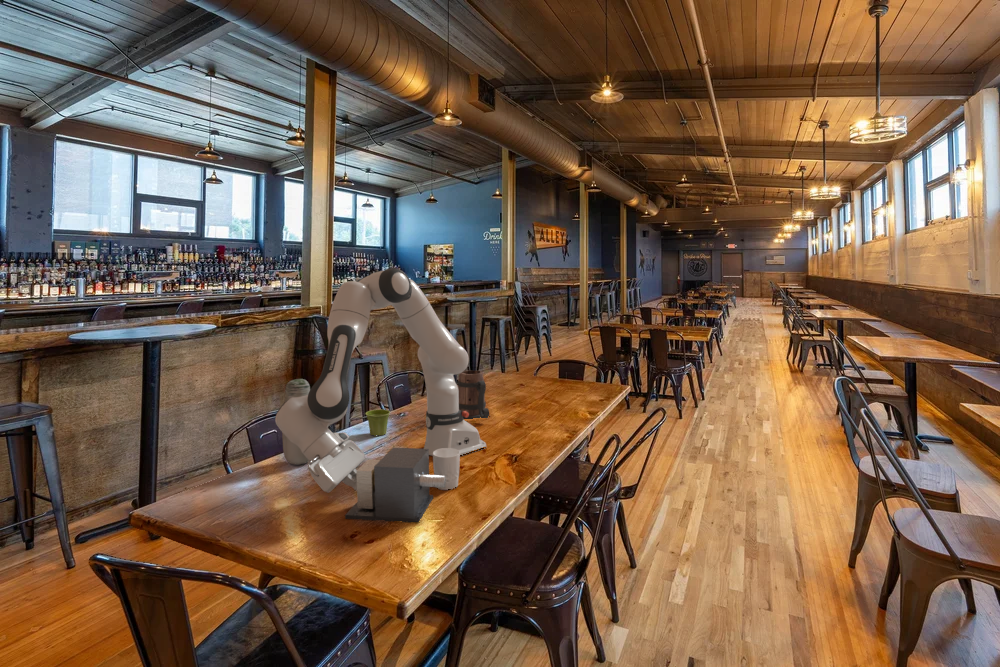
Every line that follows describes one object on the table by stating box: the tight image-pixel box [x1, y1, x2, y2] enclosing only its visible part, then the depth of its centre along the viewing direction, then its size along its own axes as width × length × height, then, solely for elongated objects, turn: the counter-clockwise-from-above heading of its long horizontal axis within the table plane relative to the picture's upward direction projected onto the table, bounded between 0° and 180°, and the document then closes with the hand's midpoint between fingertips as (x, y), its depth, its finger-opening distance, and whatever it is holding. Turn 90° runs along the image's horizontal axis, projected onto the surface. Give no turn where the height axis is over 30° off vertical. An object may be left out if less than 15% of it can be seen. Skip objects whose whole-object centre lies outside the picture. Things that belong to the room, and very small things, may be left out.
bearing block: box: [344, 447, 434, 523], centre depth 129 cm, size 19×14×14 cm
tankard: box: [456, 370, 490, 419], centre depth 215 cm, size 24×17×20 cm
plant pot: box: [365, 408, 391, 437], centre depth 193 cm, size 9×9×9 cm
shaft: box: [356, 459, 446, 509], centre depth 129 cm, size 22×8×10 cm, turn 83°
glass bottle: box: [281, 378, 311, 466], centre depth 161 cm, size 10×10×28 cm
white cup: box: [432, 448, 461, 491], centre depth 144 cm, size 8×8×10 cm
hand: (360, 487), depth 130 cm, fingers closed
